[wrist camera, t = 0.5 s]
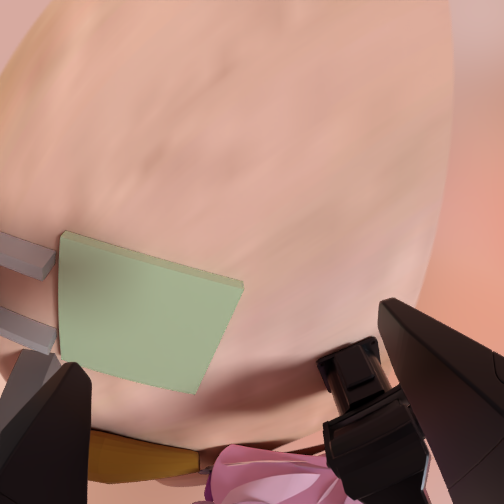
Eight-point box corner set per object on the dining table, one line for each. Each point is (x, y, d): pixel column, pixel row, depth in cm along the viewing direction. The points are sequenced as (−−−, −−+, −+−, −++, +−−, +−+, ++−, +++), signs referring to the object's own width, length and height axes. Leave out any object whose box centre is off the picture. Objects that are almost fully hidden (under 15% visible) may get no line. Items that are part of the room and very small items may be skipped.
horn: (197, 436, 40) (53, 422, 37) (190, 438, 31) (19, 416, 29) (201, 483, 36) (54, 465, 33) (195, 497, 27) (21, 467, 24)
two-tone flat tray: (242, 281, 23) (246, 302, 21) (195, 387, 29) (195, 406, 27) (-23, 201, 17) (-41, 213, 15) (-9, 322, 23) (-19, 338, 21)
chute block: (54, 353, 26) (17, 461, 14) (69, 380, 28) (42, 480, 17) (22, 349, 25) (-18, 447, 14) (38, 375, 27) (7, 468, 16)
